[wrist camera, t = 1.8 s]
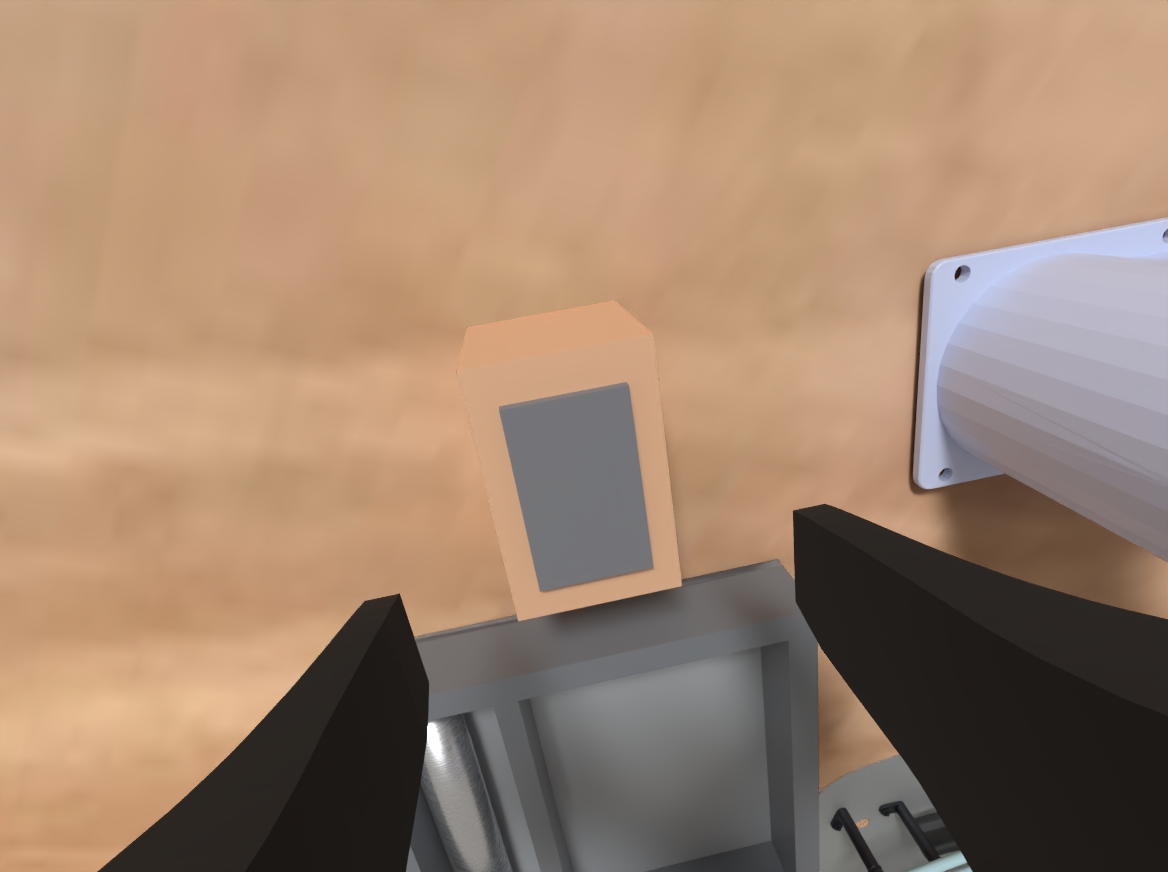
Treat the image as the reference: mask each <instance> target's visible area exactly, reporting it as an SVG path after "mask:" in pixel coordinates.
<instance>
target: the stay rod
mask: <svg viewBox="0 0 1168 872" xmlns="http://www.w3.org/2000/svg"><path fill="white" fill-rule="evenodd" d="M422 778H423V781H424V784H425V787H426V789H427V792H428V795H429V797H430V800H431V803H432V805H433V808H434V811H435V814H436V816H437V819H438V822H439V824H440V827H441V830H442V833H443V835H444V838H445V841H446V843H447V846H448V849H449V852H450V854H451V857H452V860H453V862H454V865H455V868H456V870H457V872H513V871H512V868H511V865H510V861H509V858H508V855H507V852H506V849H505V846H504V842H503V839H502V836H501V833H500V830H499V826H498V823H497V820H496V817H495V814H494V810H493V807H492V804H491V801H490V798H489V795H488V791H487V788H486V785H485V782H484V779H483V775H482V772H481V769H480V766H479V763H478V759H477V756H476V753H475V750H474V747H473V744H472V740H471V737H470V734H469V731H468V728H467V724H466V721H465V718H464V715H463V713H462V714H457V715H453V716H448V717H444V718H440V719H435V720H431V721H428V735H427V744H426V751H425V757H424V764H423V770H422Z"/></svg>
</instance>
